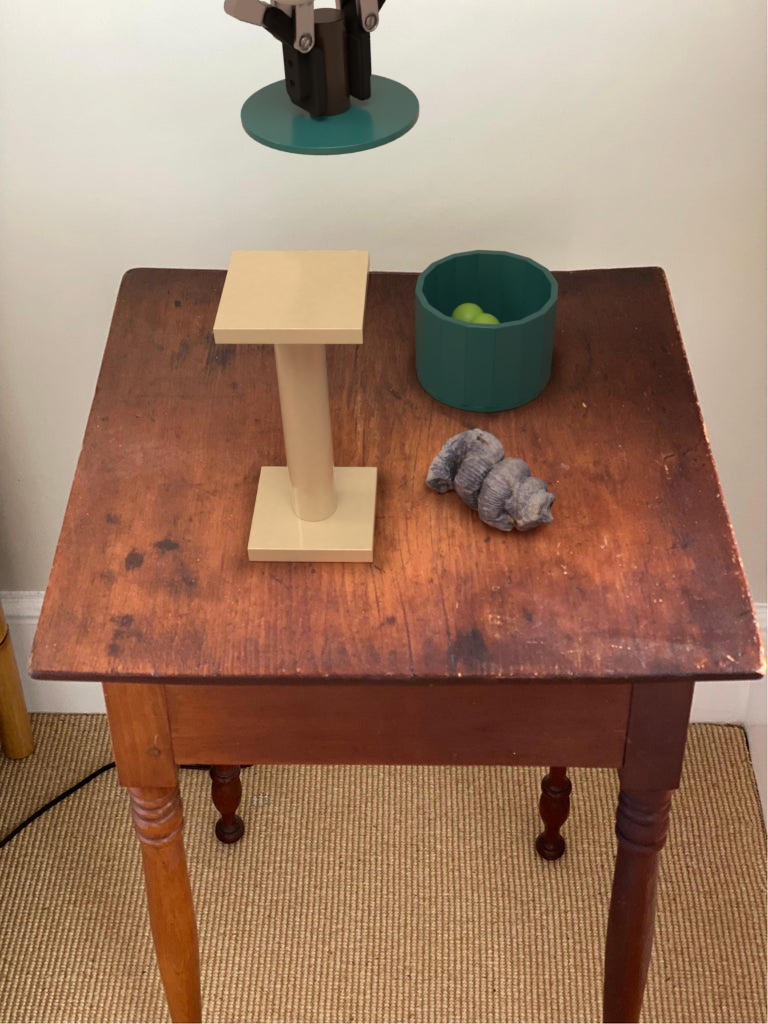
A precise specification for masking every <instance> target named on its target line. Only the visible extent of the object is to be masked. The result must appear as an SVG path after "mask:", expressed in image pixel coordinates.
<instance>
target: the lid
mask: <svg viewBox="0 0 768 1024" xmlns="http://www.w3.org/2000/svg"><path fill="white" fill-rule="evenodd" d="M314 46H315V47H317V48H319V49H321V50H322V51H323V54H324V66H325V81H326V96H327V111H326V113H325V114H324V115H321V116H318V117H316V116H314V115H312V114H311V113H309V112H307V111H305V110H304V109H302V108H300V107H298V106H296V105H295V104H293V103H292V102H291V99H290V97H289V95H288V93H287V90H286V83H285V78H284V79H283V78H282V79H280V80H277V81H274V82H271V83H269V84H268V85H264V86H262V87H261V88H259V89H258V90H255V92H253V93H252V94H251V95H249V96H248V98H246V100H245V101H244V103H243V104H242V106H241V109H240V115H239V116H240V123H241V126H242V129H243V130H244V132H245V133H246V135H247V136H248V137H249V138H251V139H252V140H253V141H255V142H256V143H258V144H260V145H262V146H264V147H267V148H270V149H272V150H276V151H279V152H284V153H289V154H295V155H302V156H303V155H304V156H339V155H349V154H354V153H355V154H356V153H360V152H365V151H369V150H373V149H376V148H379V147H382V146H385V145H388V144H390V143H392V142H395V141H396V140H399V139H400V138H402V137H404V135H407V133H409V132H410V131H411V130H412V129H413V128H415V125H416V124H417V123H418V120H419V117H420V101H419V98H418V97H417V94H416V93H414V92H413V90H412V89H410V87H408V86H407V85H405V84H403V83H401V82H399V81H397V80H395V79H392V78H388V77H387V76H382V75H378V74H374V73H372V74H371V76H370V81H371V97H370V98H369V99H366V100H363V101H361V100H358V99H356V98H355V97H353V96H351V95H350V85H349V66H348V48H347V29H346V15H345V13H344V12H343V11H342V10H339V9H336V7H335V8H334V7H319V8H314Z"/></svg>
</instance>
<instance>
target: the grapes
mask: <svg viewBox="0 0 768 1024" xmlns="http://www.w3.org/2000/svg"><path fill="white" fill-rule="evenodd" d="M452 318H455V319H458V320H461V321H465V322H468V323H482V324H500V322H499V321H498V319H497V318H496V317H494V316H493V315H491V314H487V313H484V312H483V310H482V309H481V308H480V307H479V306H477V305H475V304H473V303H464V304H461V305H459V306H458V307H457V308H456V309H455V310H454V312H453V313H452Z"/></svg>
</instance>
